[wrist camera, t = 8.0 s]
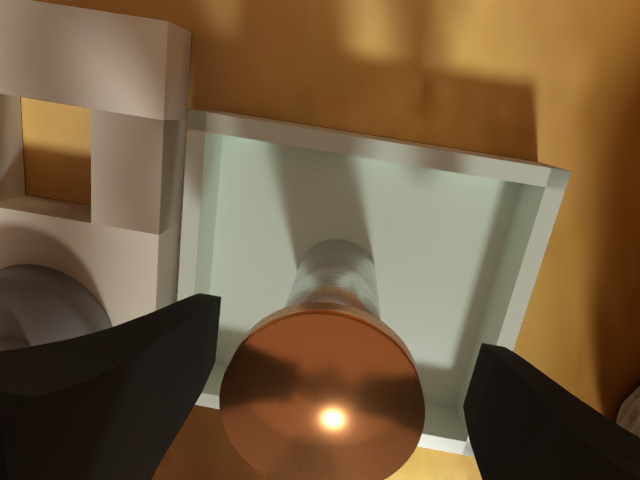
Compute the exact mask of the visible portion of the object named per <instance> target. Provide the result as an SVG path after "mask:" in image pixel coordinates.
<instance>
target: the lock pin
mask: <svg viewBox="0 0 640 480" xmlns="http://www.w3.org/2000/svg"><path fill="white" fill-rule="evenodd" d="M219 408H220V415H221V420H222V423H223V426H224V429H225V431H226V434H227V436H228V438H229V440H230V441H231V443H232V445H233V446H234V448H235V449H236V450H237V452H238V453H239V454H240V455H241V457H242V458H243V459H244V460H245V461H246V462H247V463H248V464H249V465H251V466H252V467H253V468H254V469H256V470H257V471H258V472H259V473H261V474H262V475H264V476H266V477H267V478H269V479H271V480H384V479H386V478H388V477H389V476H391V475H392V474H393V473H395V472H396V471H397V470H398V469H400V468H401V467H402V466H403V465H404V463H405V462H406V461H407V460H408V459H409V458H410V456H411V455H412V453H413V452H414V450H415V449H416V447H417V445H418V443H419V441H420V438H421V435H422V432H423V428H424V422H425V402H424V396H423V391H422V387H421V383H420V378H419V374H418V370H417V367H416V364H415V361H414V359H413V357H412V355H411V353H410V351H409V349H408V348H407V346H406V345H405V343H404V342H403V340H402V339H401V338H400V337H399V336H398V335H397V334H396V333H395V332H394V331H393V330H392V329H391V328H390V327H389V326H388V325H386V324H385V323H384V322H382V321H381V314H380V306H379V297H378V288H377V279H376V271H375V266H374V263H373V261H372V259H371V257H370V256H369V254H368V253H367V252H366V251H365V250H364V249H363V248H362V247H360V246H359V245H357V244H355V243H354V242H351V241H348V240H344V239H330V240H325V241H322V242H320V243H318V244H316V245H315V246H313V247H312V248H311V249H310V250H309V251H308V252H307V253H306V254H305V256H304V257H303V259H302V261H301V264H300V267H299V269H298V272H297V275H296V277H295V280H294V283H293V285H292V288H291V291H290V293H289V296H288V299H287V302H286V304H285V307H284V308H283V309H280V310H278V311H275V312H273V313H272V314H270V315H268V316H266V317H265V318H263V319H262V320H261V321H259V322H258V323H257V324H255V325H254V326H253V327H252V328H251V329H250V330H249V331H248V332H247V333H246V335H245V336H244V338H243V339H242V340H241V342H240V343H239V345H238V347H237V349H236V351H235V353H234V355H233V357H232V359H231V361H230V363H229V365H228V367H227V369H226V371H225V373H224V376H223V379H222V382H221V387H220V393H219Z"/></svg>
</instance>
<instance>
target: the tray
mask: <svg viewBox="0 0 640 480" xmlns="http://www.w3.org/2000/svg"><path fill="white" fill-rule="evenodd" d="M570 173H571V171H568V170H565V169H561V168H558V167H554V166H551V165H547V164H544V163H540V162H535V161H529V160H523V159H517V158H510V157H504V156H498V155H492V154H486V153H479V152H473V151H467V150H461V149H455V148H448V147H442V146H436V145H430V144H424V143H417V142H411V141H405V140H399V139H393V138H386V137H380V136H374V135H368V134H362V133H355V132H349V131H343V130H337V129H331V128H324V127H318V126H312V125H306V124H300V123H293V122H287V121H281V120H275V119H269V118H262V117H256V116H250V115H244V114H238V113H231V112H225V111H219V110H195V109H188V126H187V143H186V160H185V177H184V194H183V211H182V228H181V245H180V262H179V279H178V296H177V301H180V300H182V299H185V298H187V297H190V296H192V295H195V294H198V293H203V294H208V295H214V296H220V297H221V307H220V318H219V329H218V340H217V351H216V361H215V363H214V366H213V368H212V371H211V373H210V376H209V378H208V380H207V382H206V385H205V387H204V389H203V391H202V393H201V395H200V397H199V398H198V400H197V402H196V403H195V405H199V406H204V407H209V408H215V409H220V408H219V393H220V387H221V382H222V379H223V376H224V373H225V371H226V369H227V367H228V365H229V363H230V361H231V359H232V357H233V355H234V353H235V351H236V349H237V347H238V345H239V343H240V342H241V340H242V339H243V338H244V336H245V335H246V333H247V332H248V331H249V330H250V329H251V328H252V327H253V326H254V325H255V324H257V323H258V322H259V321H261V320H262V319H263V318H265V317H266V316H268V315H270V314H272V313H273V312H275V311H278V310H280V309H283V308H284V307H285V304H286V302H287V299H288V296H289V293H290V291H291V288H292V285H293V283H294V280H295V277H296V275H297V272H298V269H299V267H300V264H301V261H302V259H303V257H304V256H305V254H306V253H307V252H308V251H309V250H310V249H311V248H312V247H313V246H315V245H316V244H318V243H320V242H322V241H325V240H330V239H344V240H348V241H351V242H354V243H355V244H357V245H359V246H360V247H362V248H363V249H364V250H365V251H366V252H367V253H368V254H369V256H370V257H371V259H372V261H373V263H374V266H375V271H376V279H377V288H378V297H379V306H380V314H381V321H382V322H384V323H385V324H386V325H388V326H389V327H390V328H391V329H392V330H393V331H394V332H395V333H396V334H397V335H398V336H399V337H400V338H401V339H402V340H403V342H404V343H405V345H406V346H407V348H408V349H409V351H410V353H411V355H412V357H413V359H414V361H415V364H416V367H417V370H418V374H419V378H420V383H421V387H422V391H423V396H424V402H425V422H424V428H423V432H422V435H421V438H420V441H419V443H418V445H417V446H419V447H424V448H429V449H435V450H440V451H446V452H451V453H456V454H462V455H467V456H472V457H475V456H474V453H473V450H472V447H471V444H470V441H469V436H468V431H467V427H466V421H465V415H464V410H463V404H464V401H465V397H466V394H467V391H468V387H469V384H470V381H471V377H472V374H473V371H474V367H475V364H476V360H477V357H478V354H479V350H480V347H481V344H482V343H486V344H491V345H497V346H503V347H506V348H508V349H509V350H511V351H513V349H514V346H515V343H516V340H517V336H518V333H519V330H520V327H521V324H522V321H523V318H524V315H525V312H526V309H527V306H528V303H529V300H530V296H531V293H532V290H533V287H534V284H535V281H536V278H537V275H538V272H539V269H540V266H541V263H542V259H543V256H544V253H545V250H546V247H547V244H548V241H549V238H550V235H551V232H552V229H553V226H554V223H555V219H556V216H557V213H558V210H559V207H560V204H561V201H562V198H563V195H564V192H565V189H566V186H567V183H568V179H569V176H570Z"/></svg>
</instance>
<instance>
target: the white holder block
mask: <svg viewBox="0 0 640 480" xmlns="http://www.w3.org/2000/svg"><path fill="white" fill-rule="evenodd" d="M191 34H192V32H190V31H188V30H186V29H183V28H181V27H179V26H177V25H175V24H173V23H171V22H169V21H164V20H157V19H151V18H144V17H138V16H131V15H125V14H118V13H112V12H105V11H99V10H92V9H86V8H79V7H73V6H66V5H60V4H54V3H47V2H41V1H34V0H0V351H5V350H12V349H19V348H25V347H31V346H36V345H41V344H46V343H51V342H56V341H62V340H67V339H71V338H75V337H79V336H83V335H87V334H90V333H94V332H98V331H101V330H104V329H108V328H111V327H114V326H117V325H119V324H122V323H125V322H127V321H130V320H133V319H136V318H138V317H141V316H144V315H146V314H149V313H151V312H154V311H156V310H159V309H161V308H163V307H166V306H168V305H170V304H173V303H175V302H176V293H177V276H178V258H179V241H180V224H181V207H182V189H183V172H184V155H185V138H186V120H187V103H188V86H189V69H190V51H191ZM20 97H23V98H30V99H36V100H42V101H48V102H54V103H60V104H66V105H73V106H79V107H85V108H91V206H88V205H82V204H77V203H71V202H65V201H59V200H53V199H47V198H42V197H36V196H30V195H25V180H24V160H23V141H22V122H21V102H20Z"/></svg>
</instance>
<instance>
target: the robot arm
mask: <svg viewBox="0 0 640 480" xmlns="http://www.w3.org/2000/svg"><path fill="white" fill-rule="evenodd" d="M220 307H221V297H220V296H214V295H208V294H203V293H198V294H195V295H192V296H190V297H187V298H185V299H182V300H180V301H177V302H175V303H173V304H170V305H168V306H166V307H163V308H161V309H159V310H156V311H154V312H151V313H149V314H146V315H144V316H141V317H138V318H136V319H133V320H130V321H127V322H125V323H122V324H119V325H117V326H114V327H111V328H108V329H104V330H101V331H98V332H94V333H90V334H87V335H83V336H79V337H75V338H71V339H67V340H62V341H56V342H51V343H46V344H41V345H36V346H31V347H25V348H19V349H12V350H5V351H0V480H151V478H152V476H153V474H154V473H155V471H156V469H157V467H158V465H159V463H160V462H161V460H162V458H163V456H164V455H165V453H166V451H167V450H168V448H169V446H170V445H171V443H172V441H173V440H174V438H175V437H176V435H177V433H178V432H179V430H180V428H181V427H182V425H183V423H184V422H185V420H186V418H187V417H188V415H189V413H190V412H191V410H192V408H193V407H194V405H195V403H196V402H197V400H198V398H199V397H200V395H201V393H202V391H203V389H204V387H205V385H206V382H207V380H208V378H209V376H210V373H211V371H212V368H213V366H214V363H215V361H216V351H217V340H218V329H219V318H220ZM463 410H464V415H465V421H466V427H467V431H468V436H469V441H470V444H471V447H472V450H473V453H474V456H475V459H476V462H477V465H478V468H479V471H480V474H481V477H482V479H483V480H640V437H638V436H636V435H635V434H633V433H631V432H629V431H628V430H626V429H624V428H623V427H621V426H619V425H618V424H616V423H614V422H613V421H611V420H610V419H608V418H606V417H605V416H603V415H602V414H600V413H599V412H597V411H596V410H594V409H593V408H591V407H590V406H588V405H587V404H585V403H584V402H582V401H581V400H580V399H578V398H577V397H575V396H574V395H573V394H571V393H570V392H568V391H567V390H565V389H564V388H563V387H561V386H560V385H559V384H557V383H556V382H554V381H553V380H552V379H550V378H549V377H548V376H546V375H545V374H544V373H542V372H541V371H540V370H538V369H537V368H535V367H534V366H533V365H531V364H530V363H529V362H527V361H526V360H524V359H523V358H522V357H520V356H519V355H517V354H516V353H514V352H513V351H511V350H509V349H508V348H506V347H503V346H497V345H491V344H486V343H482V344H481V347H480V350H479V354H478V357H477V360H476V364H475V367H474V371H473V374H472V377H471V381H470V384H469V387H468V391H467V394H466V397H465V401H464V404H463Z"/></svg>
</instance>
